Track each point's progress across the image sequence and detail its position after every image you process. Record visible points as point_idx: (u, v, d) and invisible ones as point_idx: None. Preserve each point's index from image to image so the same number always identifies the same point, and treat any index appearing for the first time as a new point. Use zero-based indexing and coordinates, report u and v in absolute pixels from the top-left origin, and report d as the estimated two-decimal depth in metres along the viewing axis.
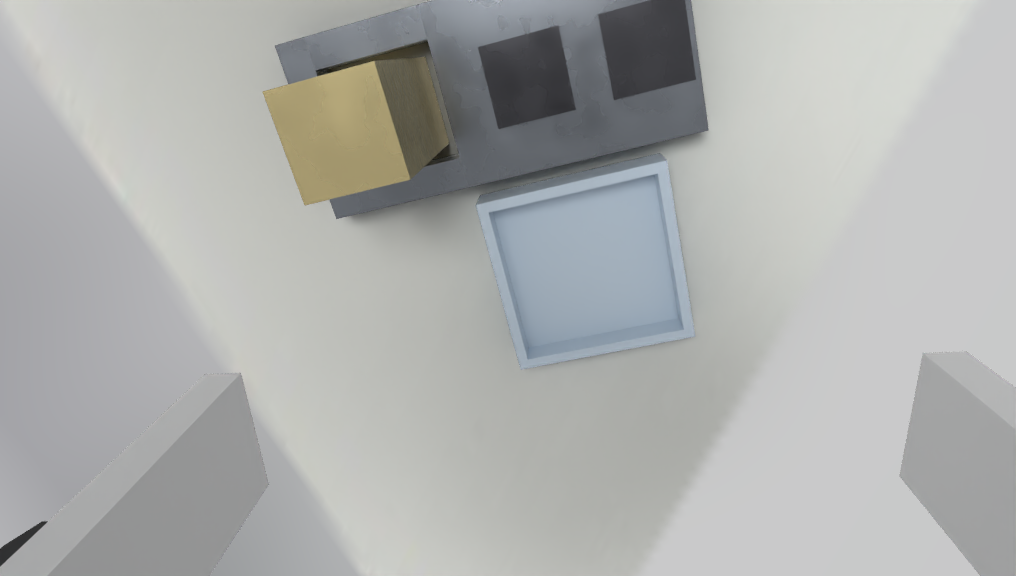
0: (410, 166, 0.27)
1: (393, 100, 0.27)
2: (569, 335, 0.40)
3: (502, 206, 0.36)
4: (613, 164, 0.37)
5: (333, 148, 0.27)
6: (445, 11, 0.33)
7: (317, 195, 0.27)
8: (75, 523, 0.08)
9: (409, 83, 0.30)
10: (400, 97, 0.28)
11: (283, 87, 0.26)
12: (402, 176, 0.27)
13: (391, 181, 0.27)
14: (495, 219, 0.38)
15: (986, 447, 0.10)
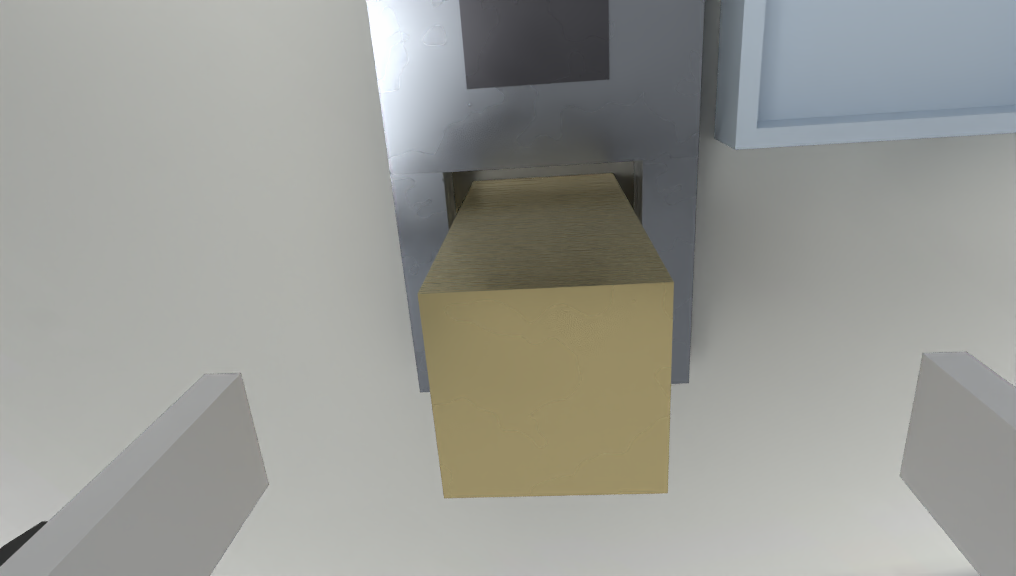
0: (644, 271, 0.13)
1: (505, 270, 0.13)
2: None
3: (754, 98, 0.19)
4: None
5: (570, 412, 0.13)
6: (405, 133, 0.20)
7: (654, 466, 0.13)
8: (75, 523, 0.08)
9: (494, 222, 0.17)
10: (507, 250, 0.15)
11: (442, 463, 0.14)
12: (662, 297, 0.12)
13: (666, 322, 0.12)
14: (767, 118, 0.20)
15: (986, 447, 0.10)
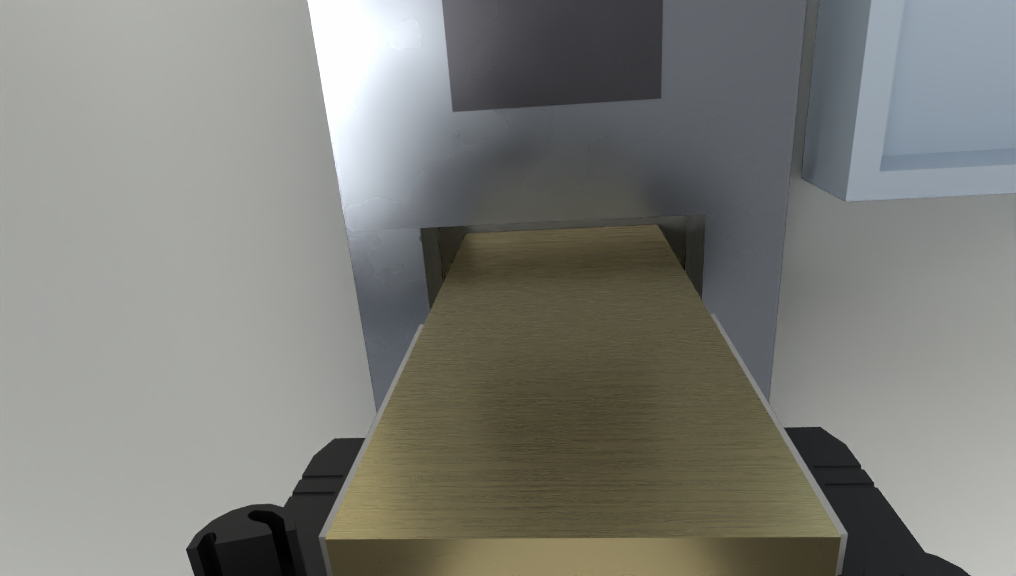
0: (767, 489, 0.07)
1: (500, 464, 0.07)
2: None
3: (879, 126, 0.12)
4: None
5: None
6: (366, 173, 0.14)
7: None
8: None
9: (489, 324, 0.11)
10: (506, 401, 0.08)
11: None
12: (814, 561, 0.06)
13: None
14: (884, 153, 0.14)
15: None
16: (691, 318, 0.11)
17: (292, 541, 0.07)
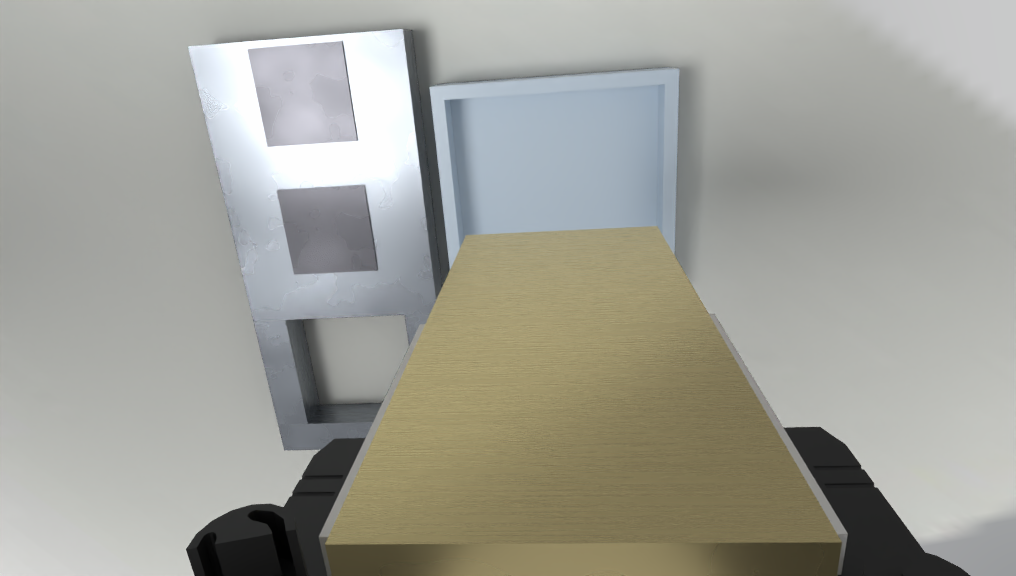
0: (768, 494, 0.06)
1: (501, 469, 0.07)
2: None
3: None
4: None
5: None
6: (260, 297, 0.33)
7: None
8: None
9: (489, 326, 0.11)
10: (507, 404, 0.08)
11: None
12: (815, 566, 0.06)
13: None
14: None
15: None
16: (691, 321, 0.11)
17: (292, 541, 0.07)
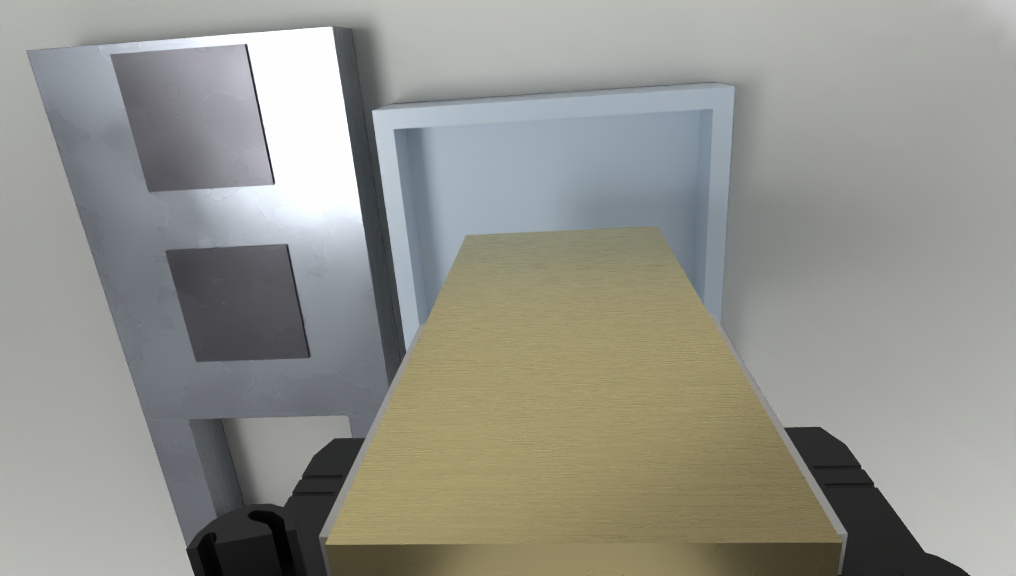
0: (768, 494, 0.06)
1: (500, 468, 0.07)
2: None
3: None
4: None
5: None
6: (153, 390, 0.24)
7: None
8: None
9: (489, 326, 0.11)
10: (506, 404, 0.08)
11: None
12: (815, 566, 0.06)
13: None
14: None
15: None
16: (691, 321, 0.11)
17: (292, 541, 0.07)
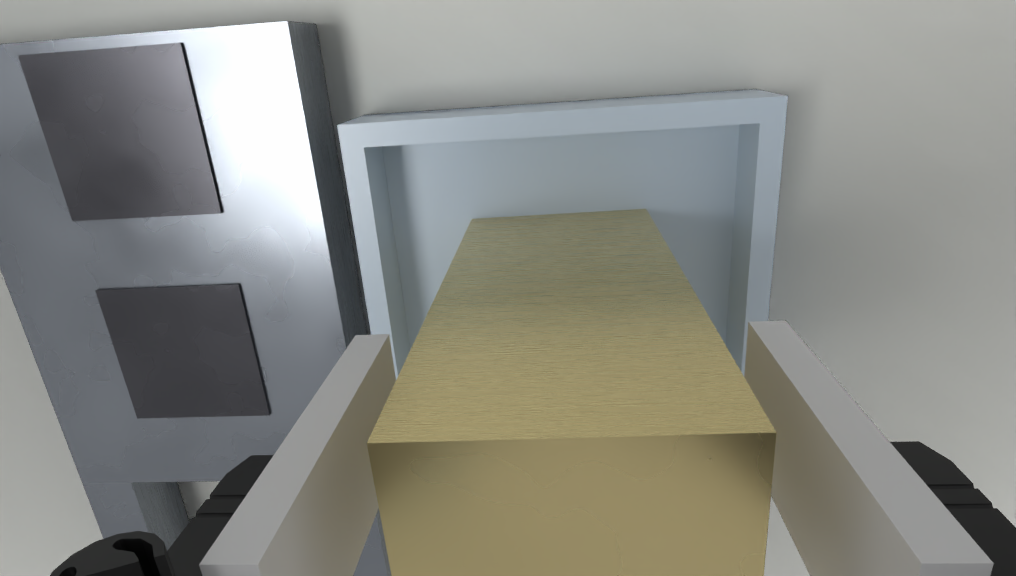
0: (722, 403, 0.08)
1: (506, 391, 0.09)
2: None
3: None
4: None
5: None
6: (89, 449, 0.21)
7: None
8: (303, 449, 0.10)
9: (494, 290, 0.12)
10: (510, 347, 0.10)
11: None
12: (756, 453, 0.07)
13: (762, 491, 0.08)
14: None
15: (778, 397, 0.11)
16: (671, 283, 0.12)
17: (161, 567, 0.07)
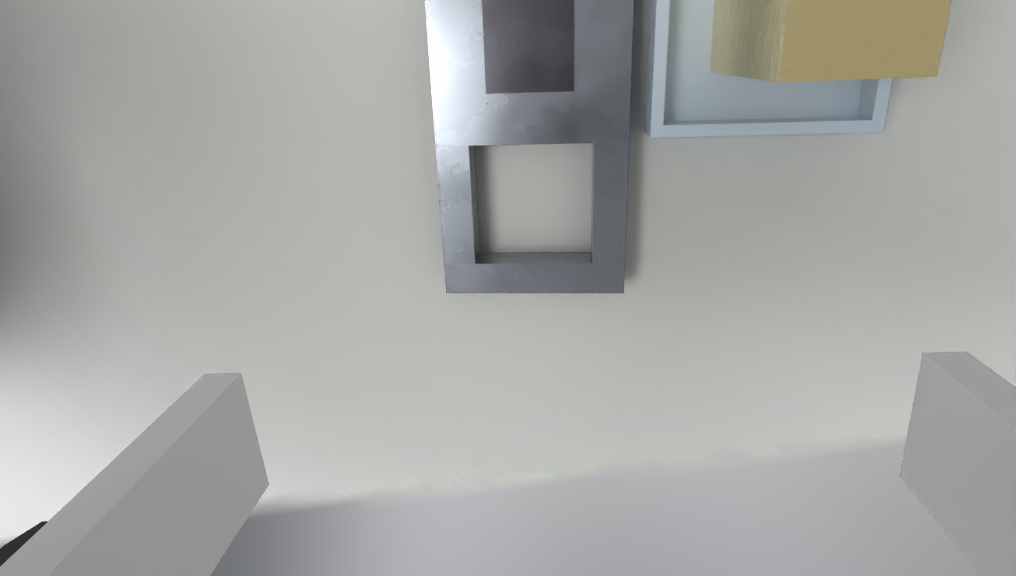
0: None
1: None
2: None
3: (661, 106, 0.30)
4: None
5: (881, 8, 0.20)
6: (446, 119, 0.32)
7: (931, 53, 0.20)
8: (75, 523, 0.08)
9: None
10: None
11: (783, 52, 0.21)
12: None
13: None
14: (676, 120, 0.32)
15: (987, 447, 0.10)
16: None
17: None
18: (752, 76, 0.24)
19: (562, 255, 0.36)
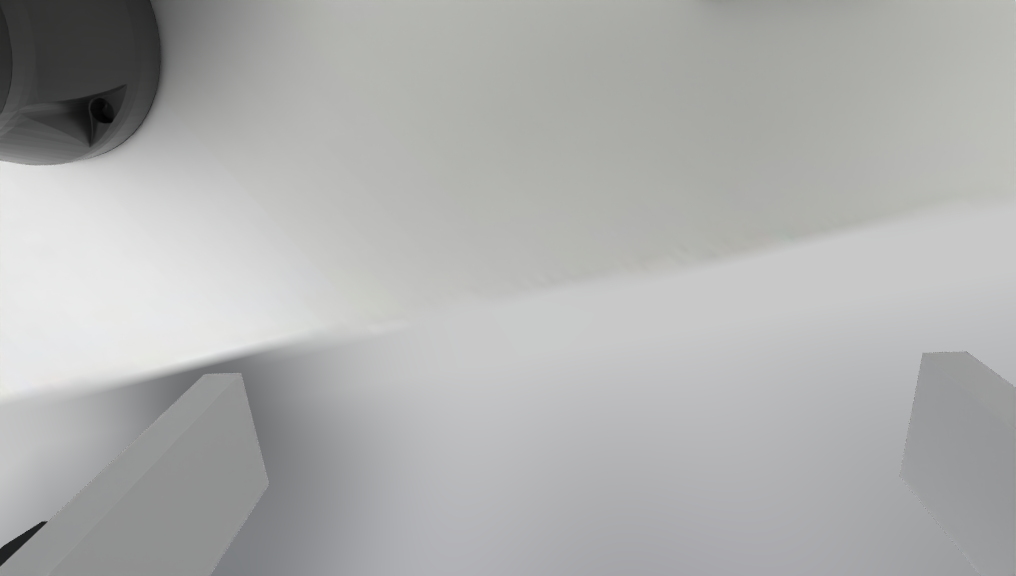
0: None
1: None
2: None
3: None
4: None
5: None
6: None
7: None
8: (75, 523, 0.08)
9: None
10: None
11: None
12: None
13: None
14: None
15: (987, 447, 0.10)
16: None
17: None
18: None
19: None
